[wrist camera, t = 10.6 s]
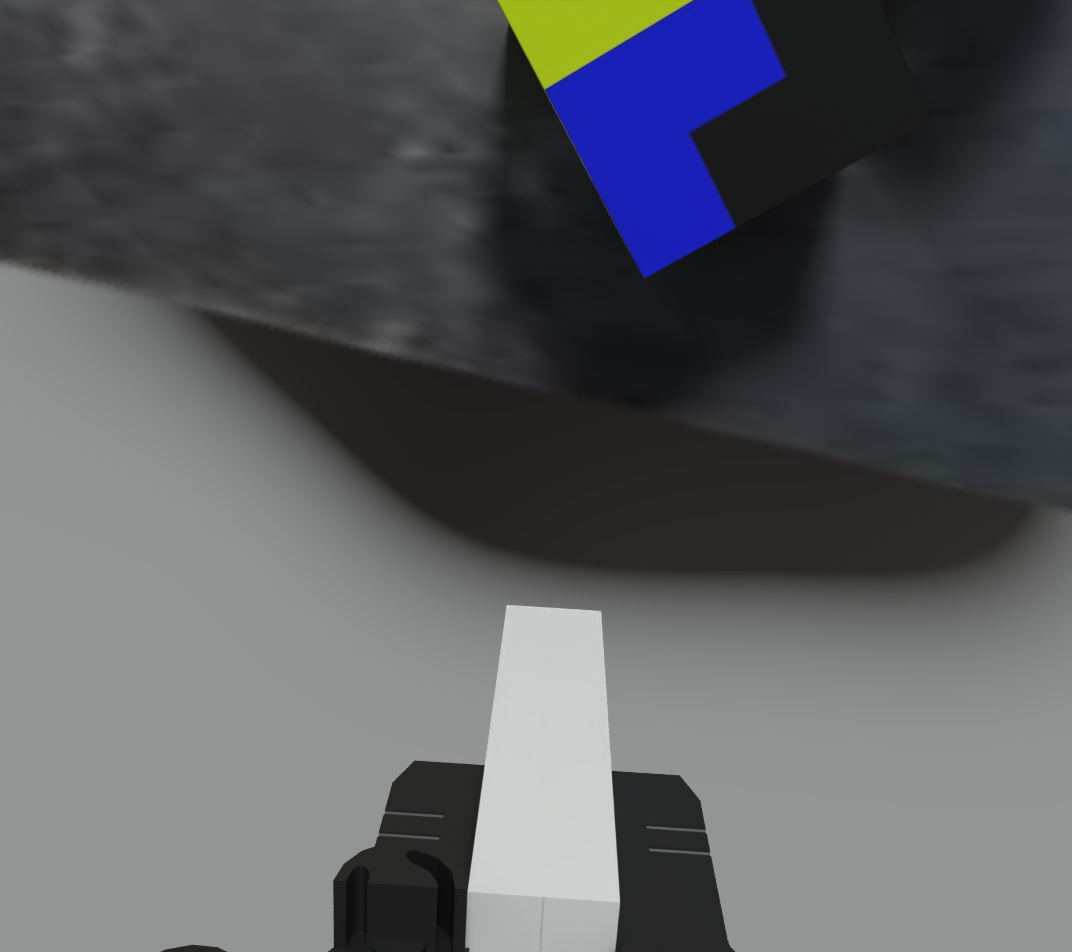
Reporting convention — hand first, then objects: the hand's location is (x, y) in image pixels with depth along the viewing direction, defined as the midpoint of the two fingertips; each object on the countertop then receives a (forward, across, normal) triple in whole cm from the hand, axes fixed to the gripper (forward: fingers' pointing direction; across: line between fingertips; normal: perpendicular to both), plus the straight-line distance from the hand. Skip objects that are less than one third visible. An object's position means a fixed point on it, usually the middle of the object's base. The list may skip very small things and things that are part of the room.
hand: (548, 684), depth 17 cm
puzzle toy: (+30, +4, +11) cm, 32 cm away
